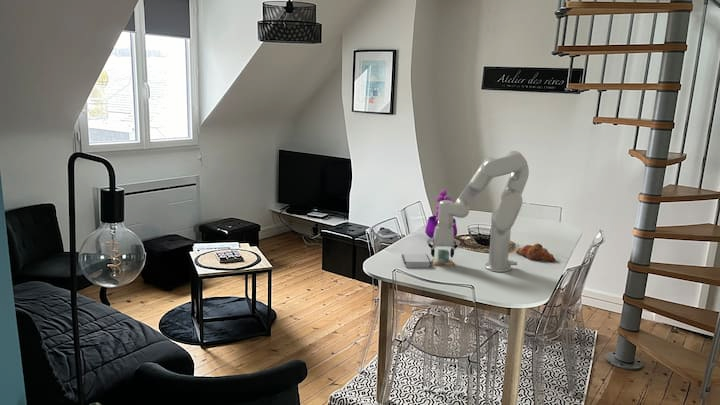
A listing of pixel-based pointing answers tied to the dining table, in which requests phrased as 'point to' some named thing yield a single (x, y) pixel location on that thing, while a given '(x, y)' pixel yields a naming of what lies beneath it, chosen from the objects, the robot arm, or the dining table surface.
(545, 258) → the pastry
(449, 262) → the pallet
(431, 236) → the decorative plant
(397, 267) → the dining table surface
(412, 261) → the dock
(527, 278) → the dining table surface
